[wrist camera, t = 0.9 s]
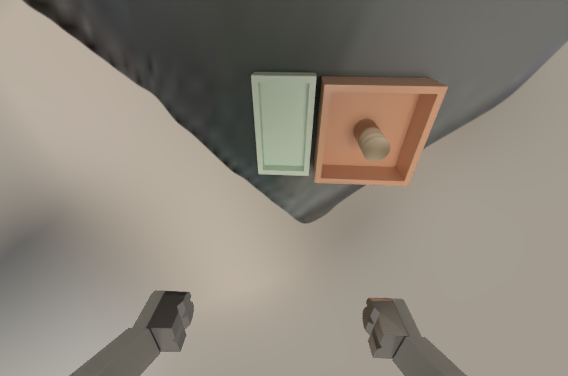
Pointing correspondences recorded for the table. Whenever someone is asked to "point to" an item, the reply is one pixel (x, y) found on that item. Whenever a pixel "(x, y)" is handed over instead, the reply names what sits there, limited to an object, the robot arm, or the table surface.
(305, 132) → the green tray
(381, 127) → the orange hollow square box
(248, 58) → the table surface
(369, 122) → the birch cylinder
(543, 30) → the table surface
